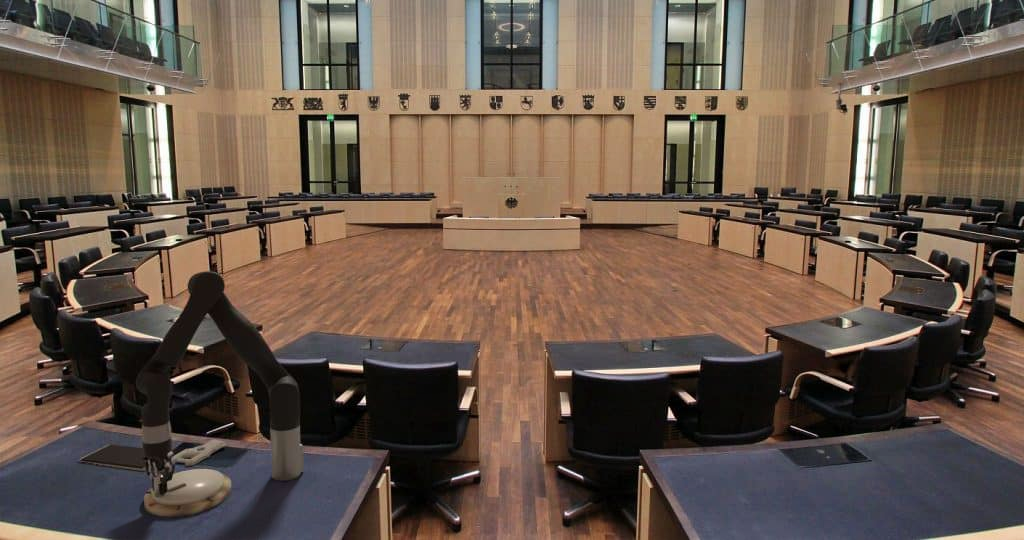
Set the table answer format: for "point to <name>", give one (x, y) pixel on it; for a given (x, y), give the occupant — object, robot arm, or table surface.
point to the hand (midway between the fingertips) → (160, 491)
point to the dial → (189, 487)
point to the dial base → (188, 508)
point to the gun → (198, 453)
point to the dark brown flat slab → (118, 457)
